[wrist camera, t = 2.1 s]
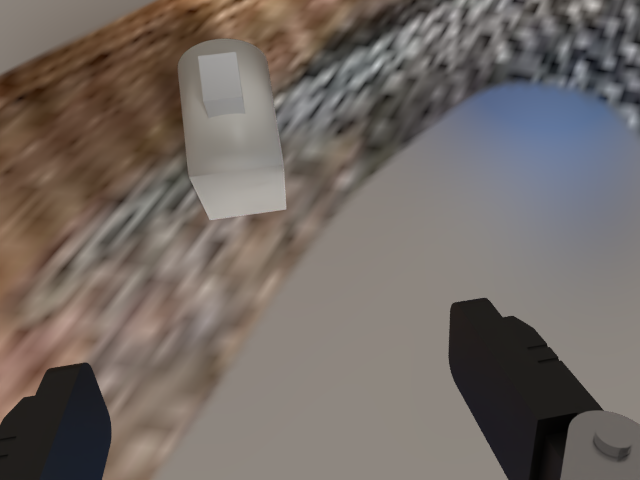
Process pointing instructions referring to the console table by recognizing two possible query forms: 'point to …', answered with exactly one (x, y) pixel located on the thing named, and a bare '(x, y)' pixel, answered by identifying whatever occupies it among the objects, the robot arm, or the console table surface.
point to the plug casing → (231, 129)
